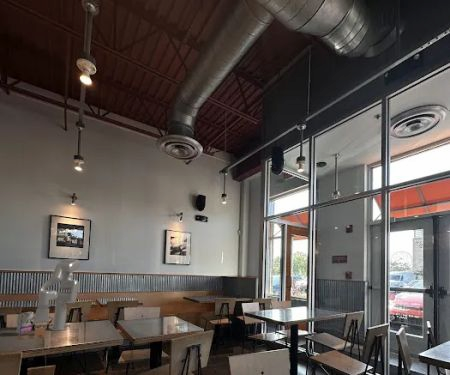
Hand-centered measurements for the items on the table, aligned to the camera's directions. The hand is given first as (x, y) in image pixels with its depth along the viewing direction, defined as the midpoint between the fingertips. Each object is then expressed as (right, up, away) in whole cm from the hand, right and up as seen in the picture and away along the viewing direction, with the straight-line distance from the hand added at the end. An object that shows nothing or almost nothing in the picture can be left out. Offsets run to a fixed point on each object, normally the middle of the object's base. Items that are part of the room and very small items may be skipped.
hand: (40, 329), depth 277 cm
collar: (0, -3, -1) cm, 3 cm away
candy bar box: (-17, -6, +6) cm, 19 cm away
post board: (-3, -4, -7) cm, 8 cm away
